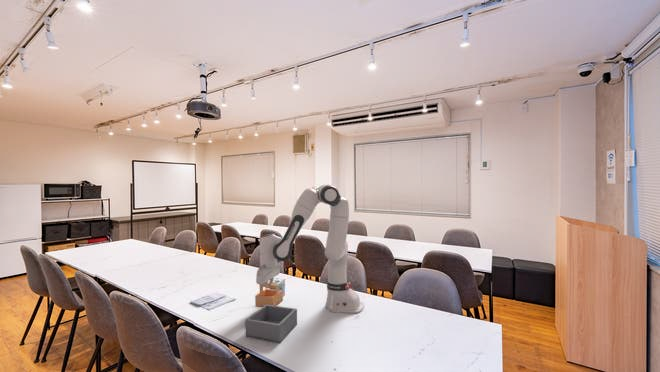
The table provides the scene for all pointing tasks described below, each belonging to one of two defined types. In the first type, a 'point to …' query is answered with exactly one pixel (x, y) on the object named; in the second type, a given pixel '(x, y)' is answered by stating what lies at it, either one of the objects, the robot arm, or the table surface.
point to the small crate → (269, 296)
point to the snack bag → (206, 300)
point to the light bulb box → (279, 284)
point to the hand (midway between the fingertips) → (269, 287)
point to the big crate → (271, 323)
